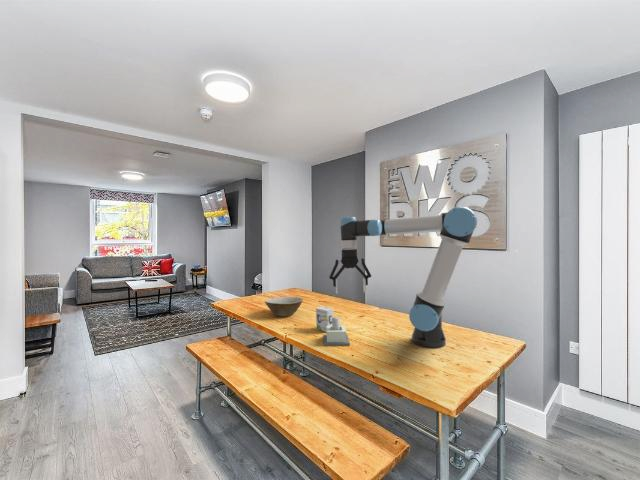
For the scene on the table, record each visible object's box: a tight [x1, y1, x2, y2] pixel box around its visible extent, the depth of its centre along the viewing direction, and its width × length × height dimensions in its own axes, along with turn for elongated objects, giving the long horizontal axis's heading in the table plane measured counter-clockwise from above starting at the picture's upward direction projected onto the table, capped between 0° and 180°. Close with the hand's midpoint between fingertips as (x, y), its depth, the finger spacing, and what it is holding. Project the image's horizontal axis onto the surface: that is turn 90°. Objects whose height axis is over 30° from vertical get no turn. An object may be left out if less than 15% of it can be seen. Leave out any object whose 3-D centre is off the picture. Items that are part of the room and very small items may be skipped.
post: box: [322, 316, 351, 347], centre depth 145 cm, size 12×12×11 cm
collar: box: [325, 325, 347, 342], centre depth 145 cm, size 9×9×5 cm
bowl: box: [264, 296, 304, 317], centre depth 190 cm, size 24×24×10 cm
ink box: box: [315, 305, 334, 333], centre depth 161 cm, size 9×5×12 cm, turn 47°
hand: (350, 292), depth 146 cm, fingers open, 13 cm apart
